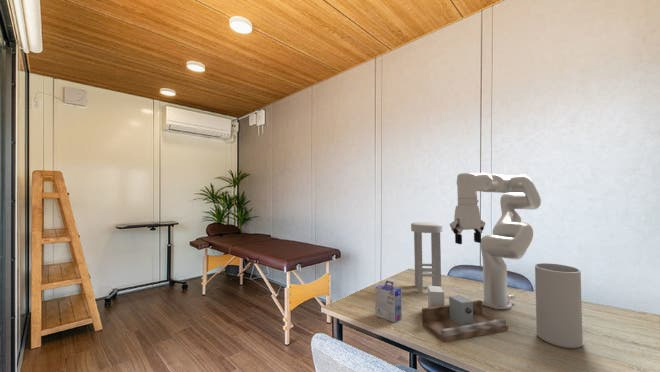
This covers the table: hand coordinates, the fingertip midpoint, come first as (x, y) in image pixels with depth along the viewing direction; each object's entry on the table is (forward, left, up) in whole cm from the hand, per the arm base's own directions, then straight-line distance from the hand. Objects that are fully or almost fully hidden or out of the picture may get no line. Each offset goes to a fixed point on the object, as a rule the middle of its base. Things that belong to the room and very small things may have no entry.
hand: (468, 243), depth 120 cm
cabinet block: (+10, +7, -29) cm, 31 cm away
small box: (+12, -6, -31) cm, 33 cm away
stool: (-3, -33, -31) cm, 45 cm away
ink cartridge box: (+33, -9, -31) cm, 46 cm away
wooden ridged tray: (+10, +8, -30) cm, 33 cm away
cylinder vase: (-15, +25, -31) cm, 42 cm away
